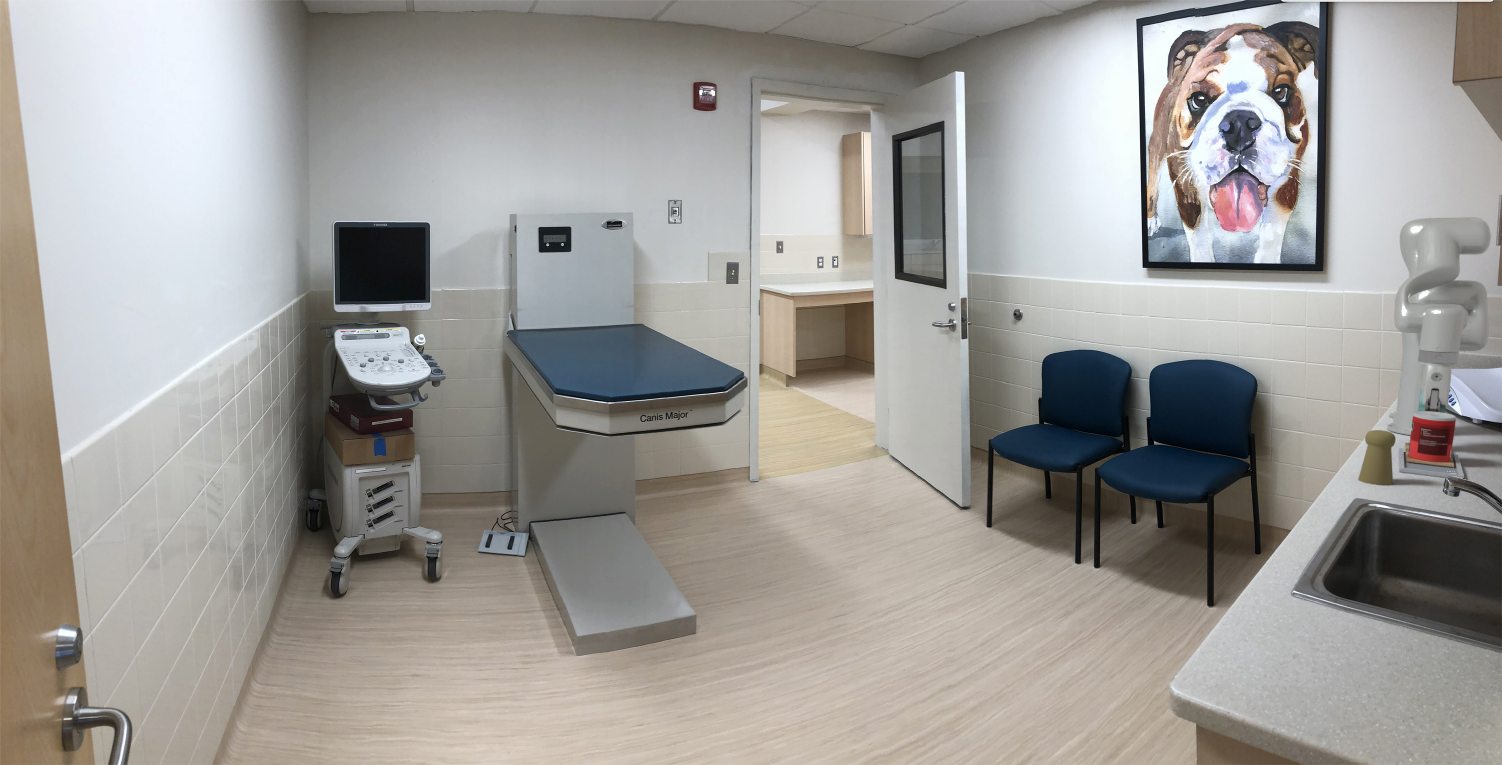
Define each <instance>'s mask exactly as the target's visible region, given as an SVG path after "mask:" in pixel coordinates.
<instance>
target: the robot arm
mask: <svg viewBox="0 0 1502 765" xmlns="http://www.w3.org/2000/svg"><path fill="white" fill-rule="evenodd" d="M1491 236H1492V235H1491V229H1490V227H1489V224H1488V223H1487V222H1486V221H1485V220H1484V219H1482V218H1480V217H1470V216H1469V217H1465V216H1463V217H1428V218H1427V217H1426V218H1416V219H1413V220H1410V221H1408V222H1406V223H1404V225H1403V226H1402V227H1401V229H1400V234H1399V249H1400V252H1401V256H1402V259H1403V262H1404V264H1405V266H1406V268H1407V271H1408V278H1407V279H1405V281H1404V282H1403V283H1402V284H1401V286H1400V287H1399V288H1398V290H1397V292H1396V295H1395V298H1394V314H1393V315H1394V316H1393V317H1394V318H1393V319H1394V321H1393V322H1394V326H1395V328H1396V329H1397V330H1398V331H1399V332H1401V343H1402V358H1401V369H1400V377H1399V385H1398V386H1399V387H1398V395H1397V401H1396V402H1397V403H1396V411H1393V412H1394V413H1393V412H1390V413H1389V414H1388V417H1389V418H1390V419H1392V420H1393V421H1392V422H1393V423H1388V424H1387V426H1386V428H1387V430H1388V431H1389V432H1391V433H1397V434H1401V435H1408V436H1411V427H1412V419H1413V414H1414V412H1417V411H1418V407H1419V399H1420V390H1422V404H1423V405H1425V411H1432V412H1439V411H1440V402H1441V404H1442V405H1445V406H1444V407H1446V408H1447V407H1448V406H1449V399H1450V398H1449V397H1450V391H1451V389H1450V388H1451V381H1452V367H1457V366H1458V364H1459V363H1458V362H1459V356H1460V355H1459V354H1460V352H1478V351H1480V350H1482V349H1483V348H1485V347H1486V345H1487V343H1488V341H1489V340H1488V339H1489V332H1490V331H1489V330H1490V329H1489V327H1490V326H1489V323H1490V322H1489V302H1488V301H1489V299H1488V292H1487V289H1486V286H1485V285H1484V284H1483V283H1481V282H1479V281H1476V280H1467V279H1465V280H1464V279H1463V280H1462V279H1460V280H1458V279H1457V278H1458V277H1459V275H1460V273H1461V262H1460V255H1470V256H1471V255H1482V254H1485V252H1486V251H1488V249H1489V247H1490V244H1491V238H1492V237H1491ZM1431 390H1432V391H1431ZM1428 399H1429V400H1428ZM1428 403H1430V405H1428ZM1437 403H1438V406H1437Z"/></svg>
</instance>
